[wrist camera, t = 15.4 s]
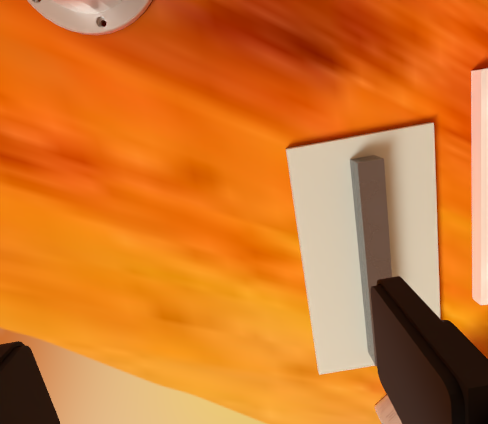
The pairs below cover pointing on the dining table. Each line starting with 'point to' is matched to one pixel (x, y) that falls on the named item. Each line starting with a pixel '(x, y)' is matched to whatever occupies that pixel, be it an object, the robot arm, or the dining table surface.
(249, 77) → the dining table surface
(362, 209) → the rail
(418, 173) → the mat
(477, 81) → the hook rack
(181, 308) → the dining table surface
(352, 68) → the dining table surface
